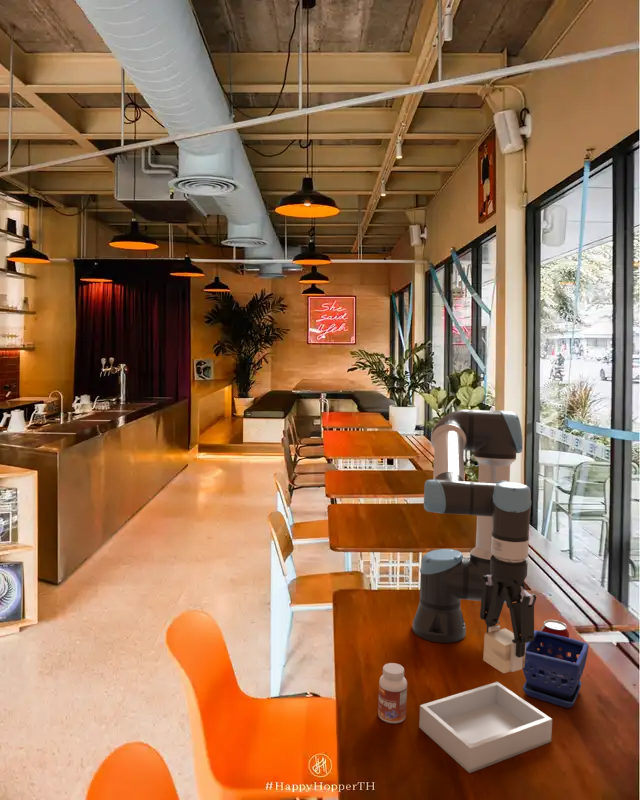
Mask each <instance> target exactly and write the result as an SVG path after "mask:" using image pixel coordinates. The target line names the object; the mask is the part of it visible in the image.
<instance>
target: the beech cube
mask: <svg viewBox="0 0 640 800" xmlns="http://www.w3.org/2000/svg"><path fill="white" fill-rule="evenodd" d="M483 638H484V639H483V640H484V641H483V642H484V643H483V656H482V657H483V658H482V661H484V662H486V664H488V665H490V666H492V667H493V668H495V669H496V670H497V671H499V672H501V673H502V674H506V673H510V672H511V671H510V658H511V640H513V639H514V634H513V631H511V630H509V629H507V628H505V627H504V628H502V629H501V628H500V630H497V631H492V632H488V633H487V632H485V633H484V637H483ZM525 652H526V643H525ZM524 667H525V655H524V656H523V660H522V669H523V668H524Z"/></svg>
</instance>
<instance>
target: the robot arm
mask: <svg viewBox="0 0 640 800" xmlns="http://www.w3.org/2000/svg"><path fill="white" fill-rule="evenodd" d="M522 433H523V432H522V426H521V421H520V418H519V415H518V414H517V413H515V412H514V411H506V410H502V409H501V410H487V409H486V410H485V409H459V410H454V411H452V412H450V413H448V414H446V415H444V416H443V417H441V419H439V420H438V421H437V422H436V424H435V425H434V426H433V429H432V430H431V436H430V442H431V446H432V448H433V473H432V474H433V476H432V477H433V478H432V479H426V481H425V482H424V487H423V489H424V492H423V508H424V510H425V511H426V512H427V513H428V512H429V513H436V514H437V513H438V514H440V515H441V514H446V515H448V514H449V515H452V514H453V515H464V516H465V515H466V516H467V515H468V516H476V533H475V535H476V537H475V547H474V548H472V549H471V550H470V552H469V557H464V555H463V554H462V552H461V551H460V550H458V549H457V550H456V549H452V548H451V549H450V548H441V549H434V550H431V551H428V552H426V553H425V554H424V555H423V556H422V558H421V561H420V562H421V563H420V569H419V573H420V583H419V604H418V606H417V610H416V613H415V616H414V617H413V620H412V631H413V633H414V634H415V635H416V636H418V637H419V638H421V639H423V640H426V641H430V642H433V643H440V644H441V643H442V644H443V643H444V644H446V643H447V644H448V643H449V644H451V643H457V642H459V641H461V640H463V639H465V637H466V635H467V634H466V629H467V626H466V623H465V620H464V616H463V612H462V609H461V600H464V601H465V600H466V601H468V600H469V601H475V602H476V601H478V602H480V610H479V611H480V612H479V617H480V619H481V620H484V622H485V625H486V633H488V632H492V631H497V630H501V625H499V624H500V623H501V621H499V619H500V616H501V613H502V610H503V607H504V604H506V608H508V610H509V615H510V616H509V617H510V622H511V626H512V627H511V628H512V632H513V634H514V639H513V640H511V658H510V672H512V673H514V672H518V671H520V670H523V668H522V660H523V656H524V655H525V643H527V642H531V641H534V630H535V603H536V601H537V596H536V595H537V594H535V593H532V594H531V593H529V592H528V591H527V589H526V585H525V580H526V578H527V576H528V565H529V561H528V560H527V558H529V545H530V544H529V537H530V534H529V533H530V519H531V518H530V515H531V506H532V500H531V499H532V498H531V493H532V492H531V491H532V490H531V488H530V487H529V485H526V484H523V483H520V482H514V481H513V482H511V481H510V478H511V465H512V464H513V463H514V462H515V461H516V460H517V454H520V453H522V452H523V434H522ZM464 451H473V458H474V459H475V461H477V462H478V479H477V480H478V481H475V482H474V481H466V479H465V464H464V463H465V460H464Z"/></svg>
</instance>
